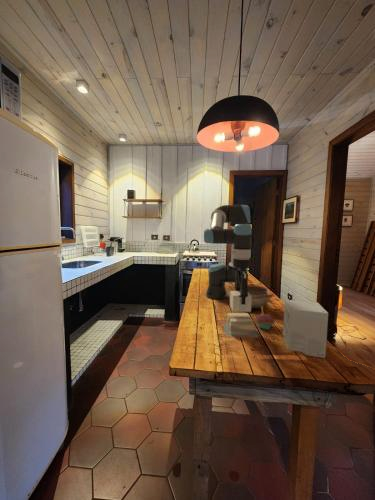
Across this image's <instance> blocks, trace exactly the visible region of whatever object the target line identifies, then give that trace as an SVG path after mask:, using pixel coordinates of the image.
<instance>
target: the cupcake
mask: <svg viewBox="0 0 375 500" xmlns="http://www.w3.org/2000/svg"><path fill="white" fill-rule="evenodd" d="M260 309H261V313H260V314H257V315H256V316H255V322H256V323H257V325H258V327H259V328H260V329H263V330H270V329H271V327H272V326H273V325H274V324H275V319H274V317H273V316H271V315H270V314H269V313H268V314H267V313H264V306H261V308H260Z"/></svg>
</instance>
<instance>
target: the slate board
mask: <svg viewBox="0 0 375 500" xmlns="http://www.w3.org/2000/svg"><path fill="white" fill-rule="evenodd" d="M222 326H223V330H224V332H225V335H226V337H227V338H230V337H231V338H260V336H259V335H258V333H257V332H256V329H253V335H231V334H230V332H229V329H228V326H227V322H222Z"/></svg>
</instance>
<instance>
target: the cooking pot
mask: <svg viewBox="0 0 375 500" xmlns="http://www.w3.org/2000/svg"><path fill="white" fill-rule="evenodd" d="M268 291H269V290H268V288H267V287H265V286H260V285H255V284H248V293H249V294H250V295H251V296H252V300H251V311H253V310H258V309H262V308H261V306H263V307H265V306H266V305H267V304H268V302H269V299H271V298H273V297H274V294H268Z"/></svg>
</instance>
